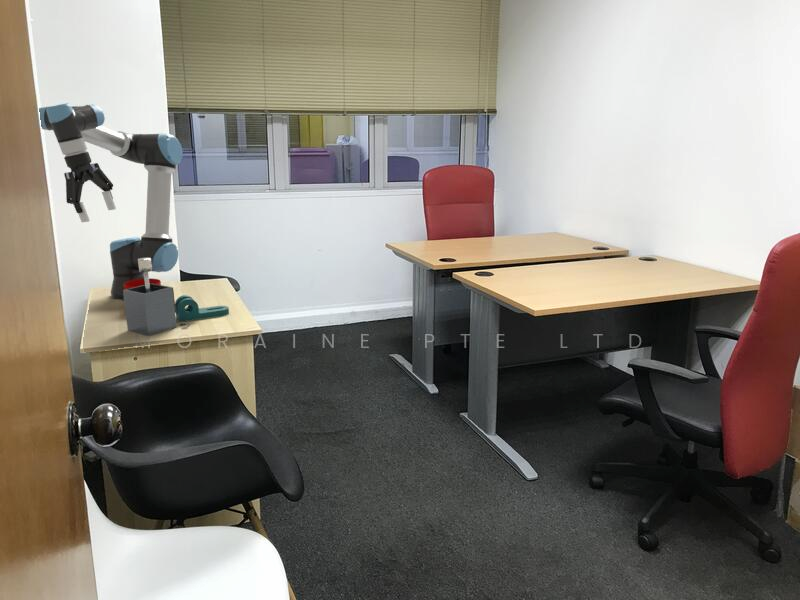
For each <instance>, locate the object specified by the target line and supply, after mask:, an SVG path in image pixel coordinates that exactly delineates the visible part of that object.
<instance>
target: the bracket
mask: <svg viewBox="0 0 800 600" xmlns="http://www.w3.org/2000/svg"><path fill="white" fill-rule="evenodd" d="M199 307H200V306H199V304H198V302H197V301H196V300H194V299H193V297H192V296H189V295H188V294H187V295H185V294H183V295H181V296H178V297H177V299H176V300H175V310H176V313H175V317H176V320H178V321H179V323H182V322H189V321H194V320H196V321H197V320H204V319H210V318H216V317H217V318H218V317H223V316H227V315H229V314H230V308H229V306H227V305H214V306H207V307H200V308H199Z"/></svg>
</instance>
